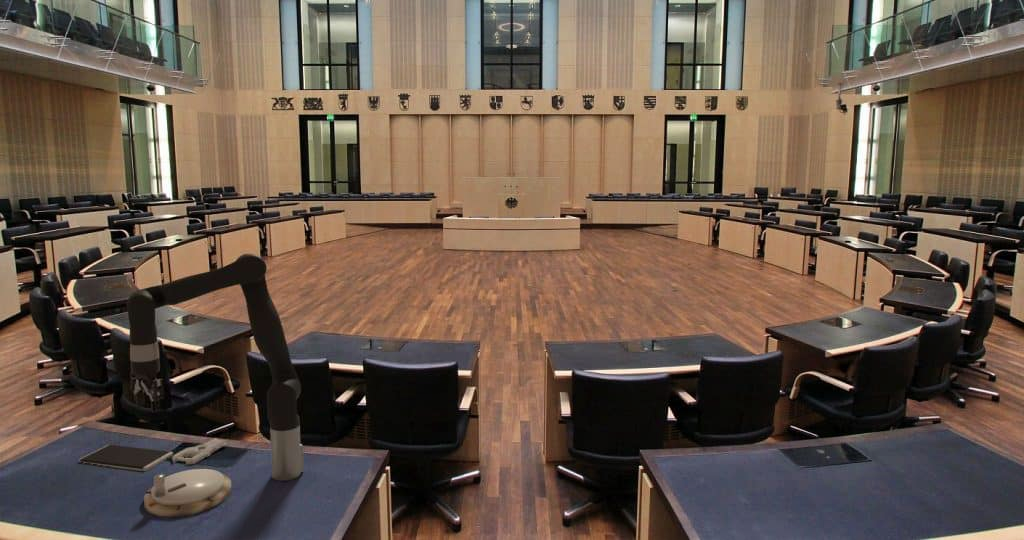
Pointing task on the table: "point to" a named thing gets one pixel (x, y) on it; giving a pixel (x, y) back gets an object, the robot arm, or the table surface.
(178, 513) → the dial base
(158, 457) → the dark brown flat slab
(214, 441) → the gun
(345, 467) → the table surface
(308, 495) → the table surface
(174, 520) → the table surface
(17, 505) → the table surface
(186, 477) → the dial
